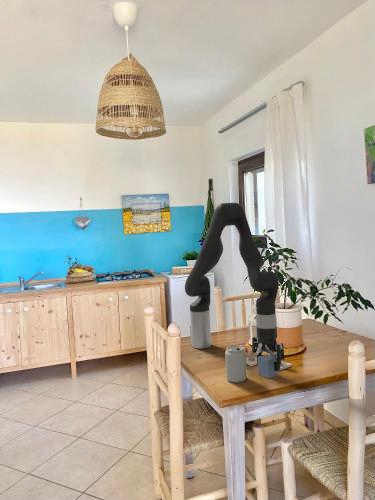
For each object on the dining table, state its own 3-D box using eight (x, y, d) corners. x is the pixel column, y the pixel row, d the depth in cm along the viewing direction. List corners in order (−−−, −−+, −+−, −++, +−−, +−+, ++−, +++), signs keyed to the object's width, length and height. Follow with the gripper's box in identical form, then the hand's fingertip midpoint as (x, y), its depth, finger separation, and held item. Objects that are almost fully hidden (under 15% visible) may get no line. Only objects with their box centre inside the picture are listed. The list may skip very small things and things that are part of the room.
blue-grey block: (258, 374, 148) (257, 356, 148) (268, 370, 151) (267, 353, 151) (268, 378, 144) (267, 360, 144) (278, 374, 147) (277, 357, 146)
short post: (239, 361, 163) (239, 350, 163) (252, 357, 167) (251, 346, 166) (251, 366, 157) (251, 354, 157) (264, 361, 161) (263, 350, 161)
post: (262, 365, 157) (261, 348, 157) (276, 360, 162) (275, 344, 161) (277, 371, 150) (276, 353, 150) (291, 366, 155) (290, 348, 154)
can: (248, 382, 141) (247, 350, 140) (228, 384, 141) (226, 351, 140) (244, 374, 149) (242, 343, 148) (224, 376, 148) (223, 345, 147)
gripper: (245, 323, 150) (247, 365, 151) (273, 330, 138) (275, 375, 139) (260, 320, 154) (261, 360, 155) (288, 326, 142) (289, 370, 143)
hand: (268, 367), depth 147 cm, fingers open, 8 cm apart
